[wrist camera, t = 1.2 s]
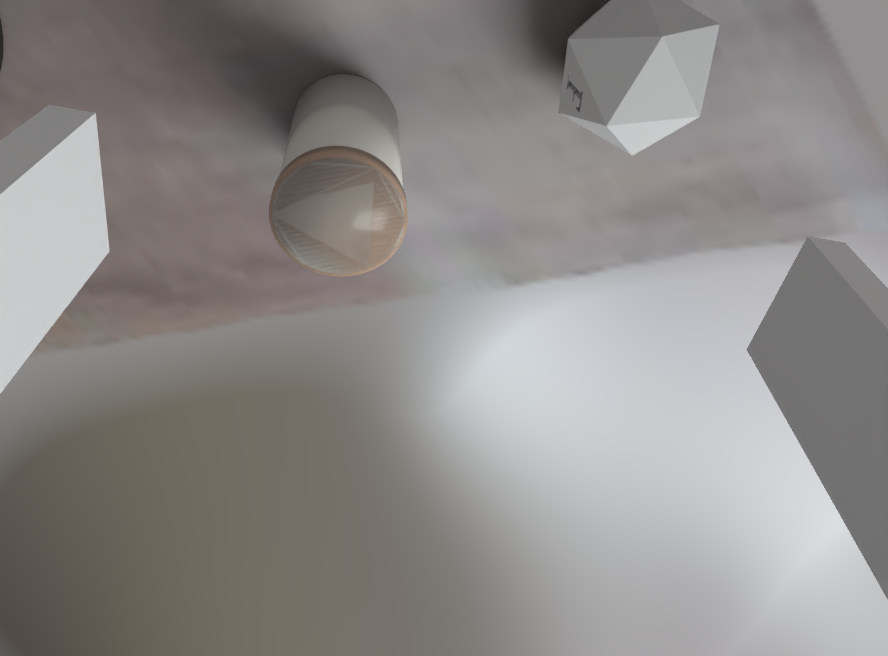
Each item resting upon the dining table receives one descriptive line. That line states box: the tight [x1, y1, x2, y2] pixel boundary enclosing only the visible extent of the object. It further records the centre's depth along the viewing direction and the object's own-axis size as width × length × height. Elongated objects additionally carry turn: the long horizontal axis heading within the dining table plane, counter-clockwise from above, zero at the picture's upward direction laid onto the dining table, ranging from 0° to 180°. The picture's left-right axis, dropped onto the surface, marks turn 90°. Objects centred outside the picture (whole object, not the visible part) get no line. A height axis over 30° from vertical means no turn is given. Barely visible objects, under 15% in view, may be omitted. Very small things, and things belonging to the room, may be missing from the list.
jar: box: [269, 74, 408, 276], centre depth 40 cm, size 7×7×12 cm
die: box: [559, 0, 719, 155], centre depth 41 cm, size 8×9×10 cm
